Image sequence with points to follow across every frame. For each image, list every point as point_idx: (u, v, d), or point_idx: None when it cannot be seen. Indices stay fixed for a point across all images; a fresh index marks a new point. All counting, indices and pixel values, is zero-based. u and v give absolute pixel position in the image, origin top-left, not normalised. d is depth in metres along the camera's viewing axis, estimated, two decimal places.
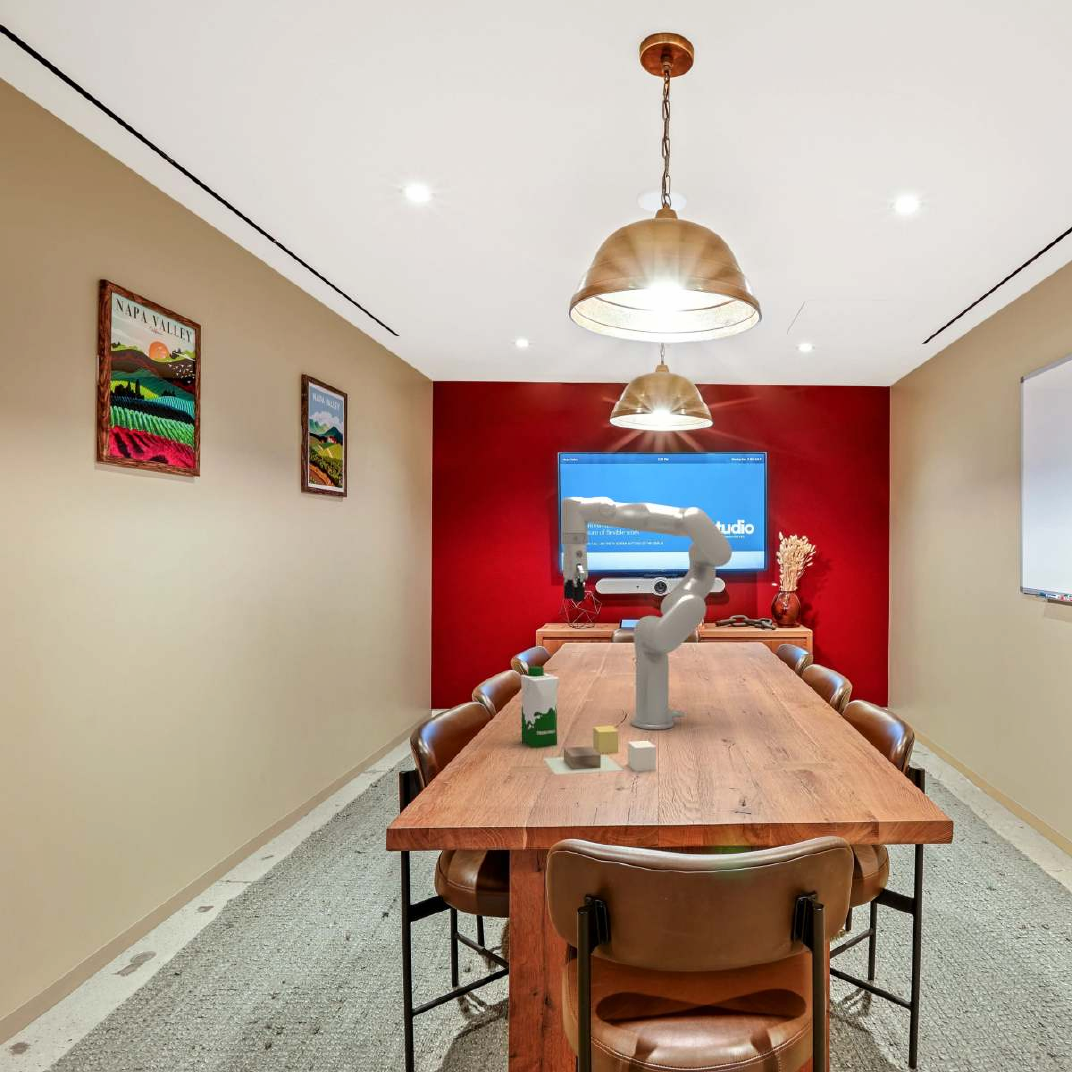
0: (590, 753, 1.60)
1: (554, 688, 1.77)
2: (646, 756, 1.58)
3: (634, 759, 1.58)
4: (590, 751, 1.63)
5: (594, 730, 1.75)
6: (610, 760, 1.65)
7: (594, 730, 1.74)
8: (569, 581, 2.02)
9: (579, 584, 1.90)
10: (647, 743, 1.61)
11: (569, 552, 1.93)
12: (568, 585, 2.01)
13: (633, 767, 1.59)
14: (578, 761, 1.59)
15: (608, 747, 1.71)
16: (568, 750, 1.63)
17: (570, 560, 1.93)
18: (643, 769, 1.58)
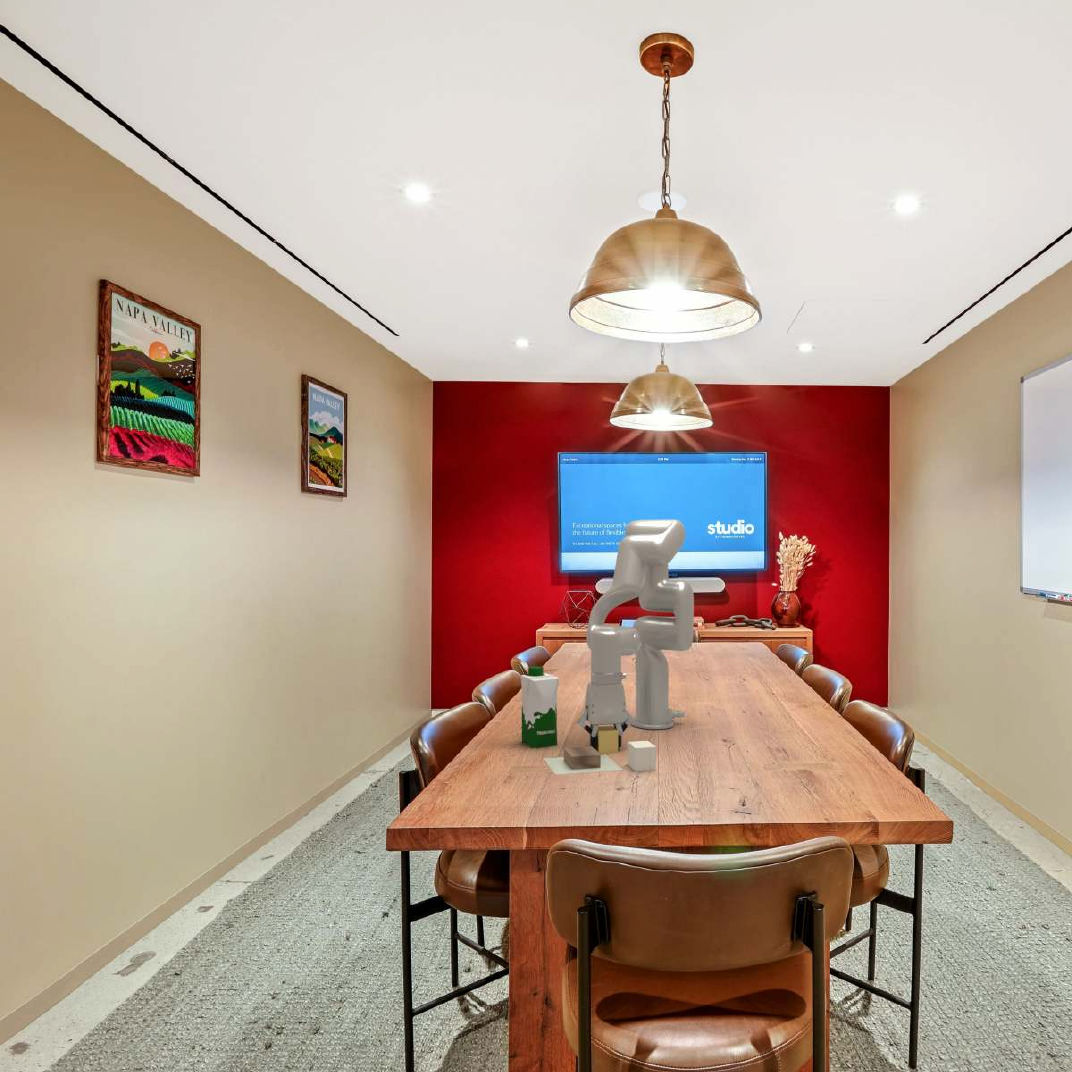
0: (590, 753, 1.60)
1: (554, 688, 1.77)
2: (646, 756, 1.58)
3: (634, 759, 1.58)
4: (590, 751, 1.63)
5: None
6: (610, 760, 1.65)
7: None
8: None
9: None
10: (647, 743, 1.61)
11: (620, 693, 1.72)
12: None
13: (633, 767, 1.59)
14: (578, 761, 1.59)
15: (608, 747, 1.71)
16: (568, 750, 1.63)
17: (622, 701, 1.73)
18: (643, 769, 1.58)
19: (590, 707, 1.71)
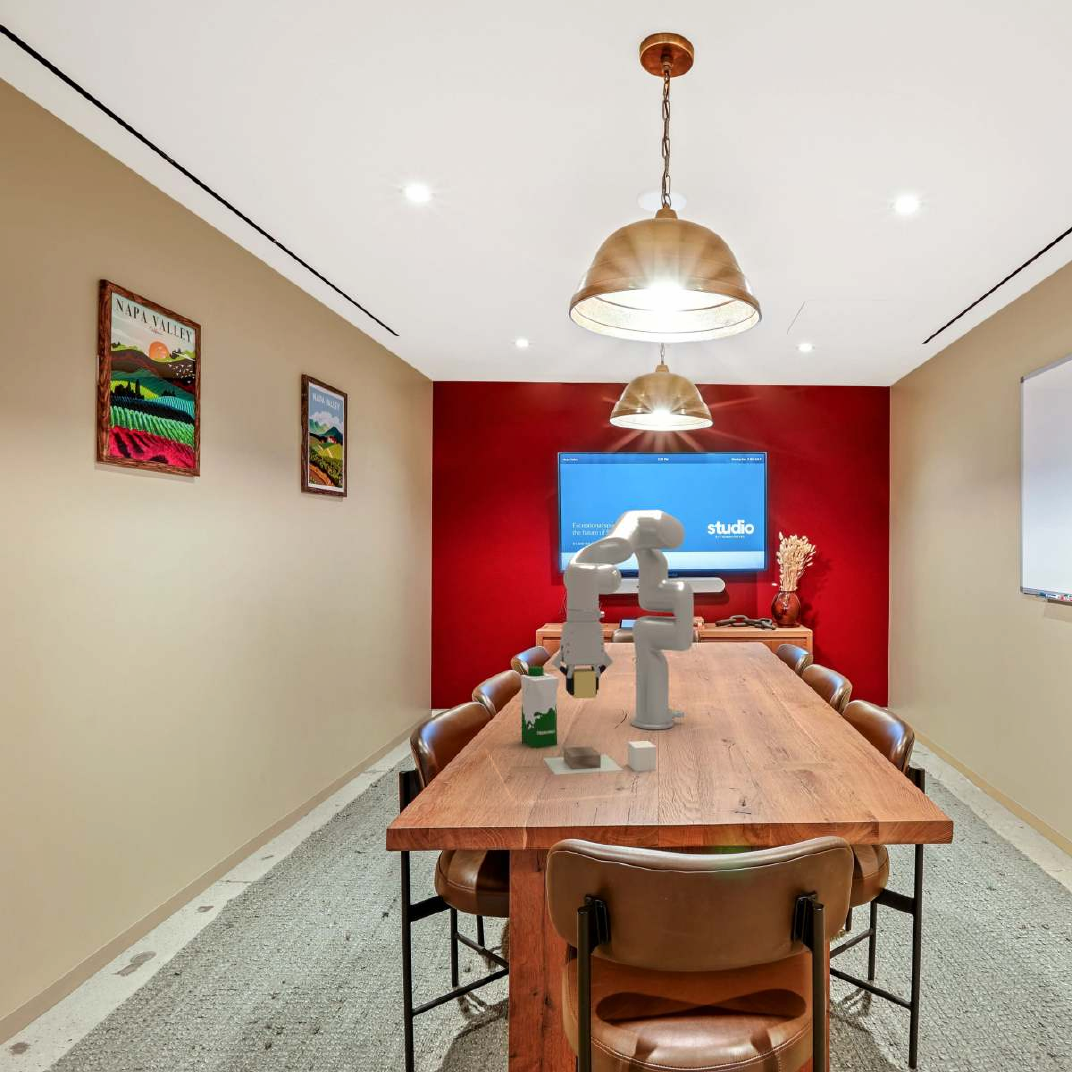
0: (590, 753, 1.60)
1: (554, 688, 1.77)
2: (646, 756, 1.58)
3: (634, 759, 1.58)
4: (590, 751, 1.63)
5: None
6: (610, 760, 1.65)
7: None
8: None
9: None
10: (647, 743, 1.61)
11: (597, 632, 1.62)
12: None
13: (633, 767, 1.59)
14: (578, 761, 1.59)
15: (585, 689, 1.60)
16: (568, 750, 1.63)
17: (599, 641, 1.62)
18: (643, 769, 1.58)
19: (565, 646, 1.60)
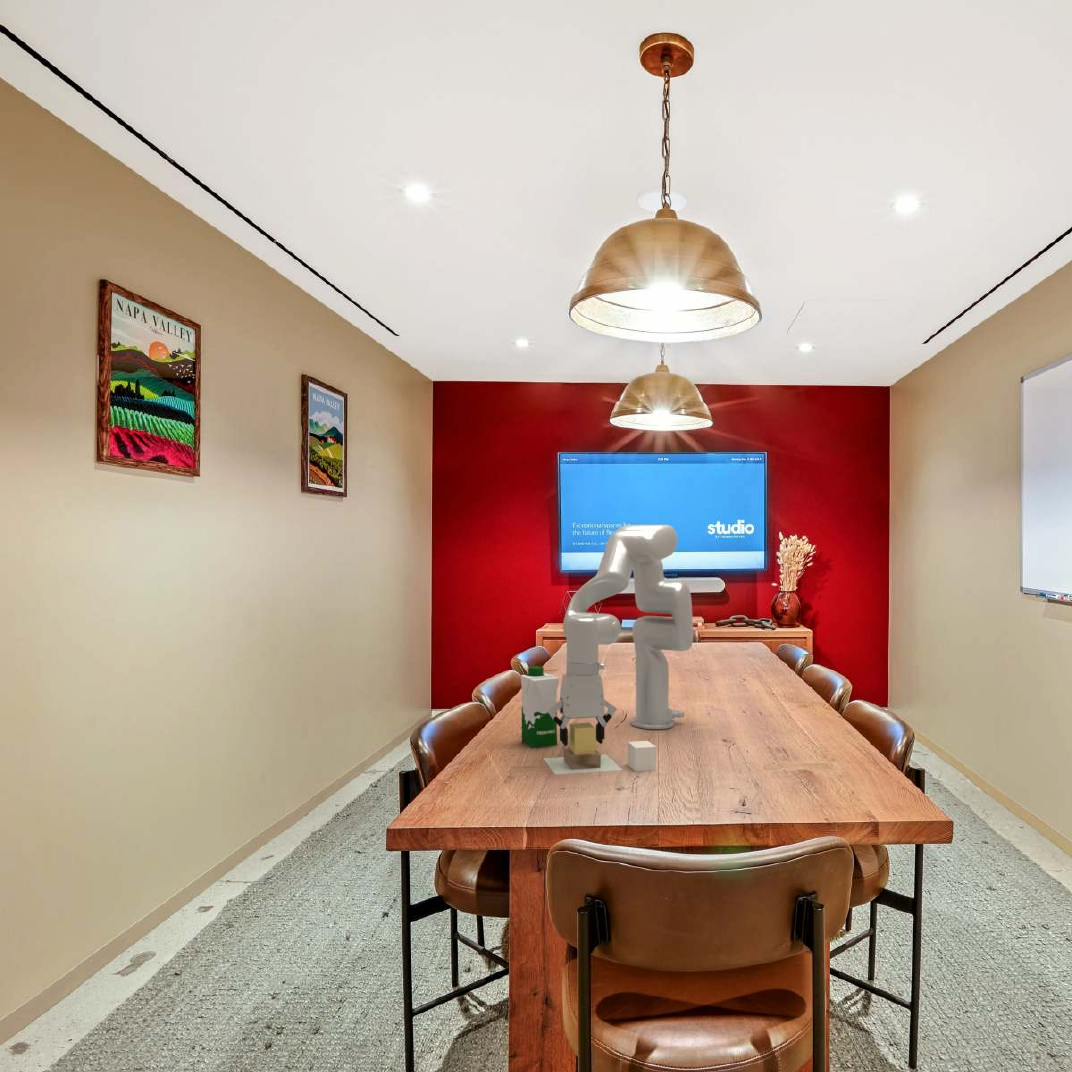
0: None
1: (554, 688, 1.77)
2: (646, 756, 1.58)
3: (634, 759, 1.58)
4: None
5: (570, 727, 1.64)
6: (610, 760, 1.65)
7: (571, 726, 1.63)
8: None
9: None
10: (647, 743, 1.61)
11: (597, 684, 1.61)
12: None
13: (633, 767, 1.59)
14: (578, 761, 1.59)
15: (585, 745, 1.60)
16: (568, 750, 1.63)
17: (599, 693, 1.61)
18: (643, 769, 1.58)
19: (565, 699, 1.60)
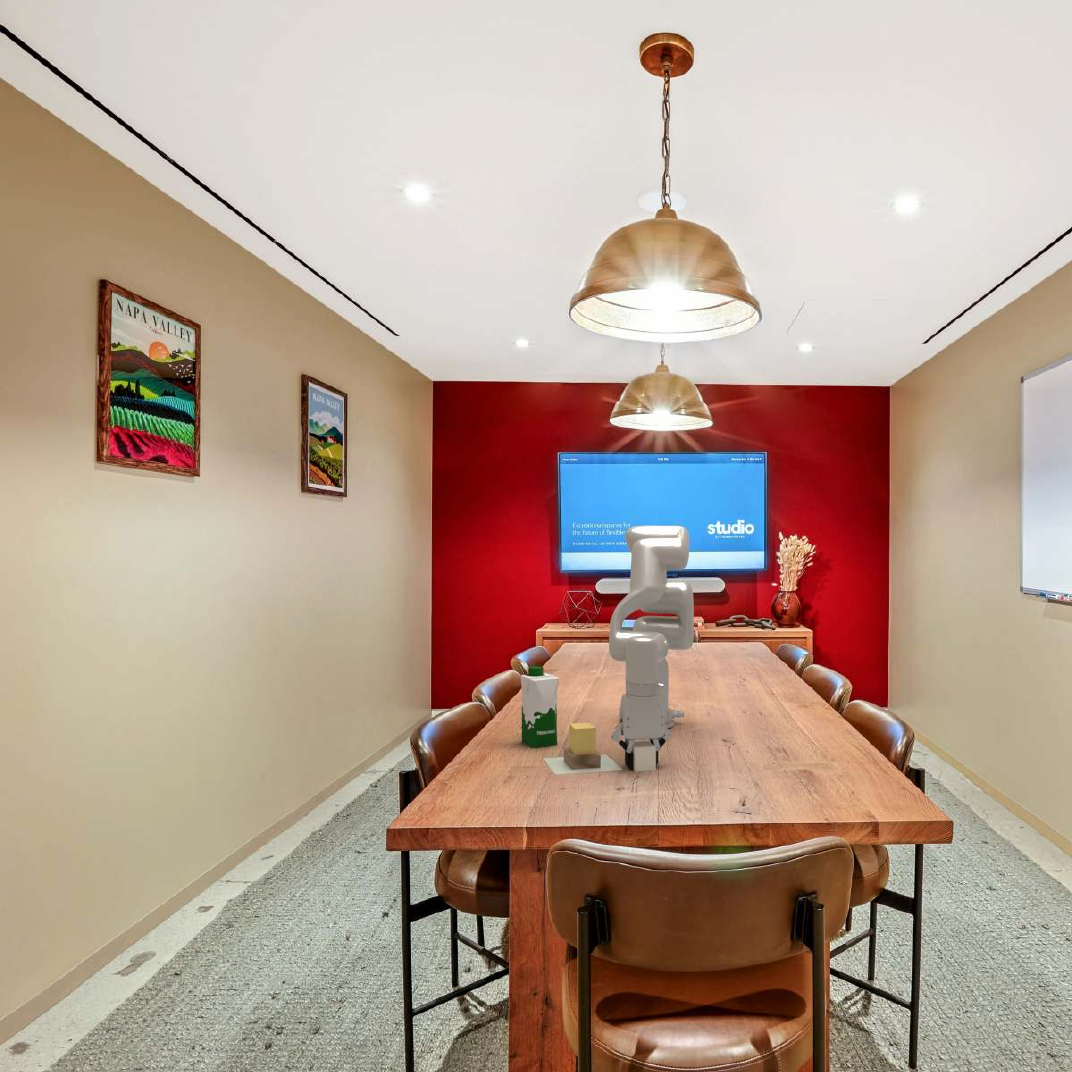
0: None
1: (554, 688, 1.77)
2: (646, 756, 1.58)
3: (634, 759, 1.58)
4: None
5: (570, 727, 1.64)
6: (610, 760, 1.65)
7: (571, 726, 1.63)
8: None
9: None
10: (647, 743, 1.61)
11: (657, 705, 1.59)
12: None
13: None
14: (578, 761, 1.59)
15: (585, 745, 1.60)
16: (568, 750, 1.63)
17: (659, 715, 1.59)
18: (643, 769, 1.58)
19: (625, 721, 1.58)
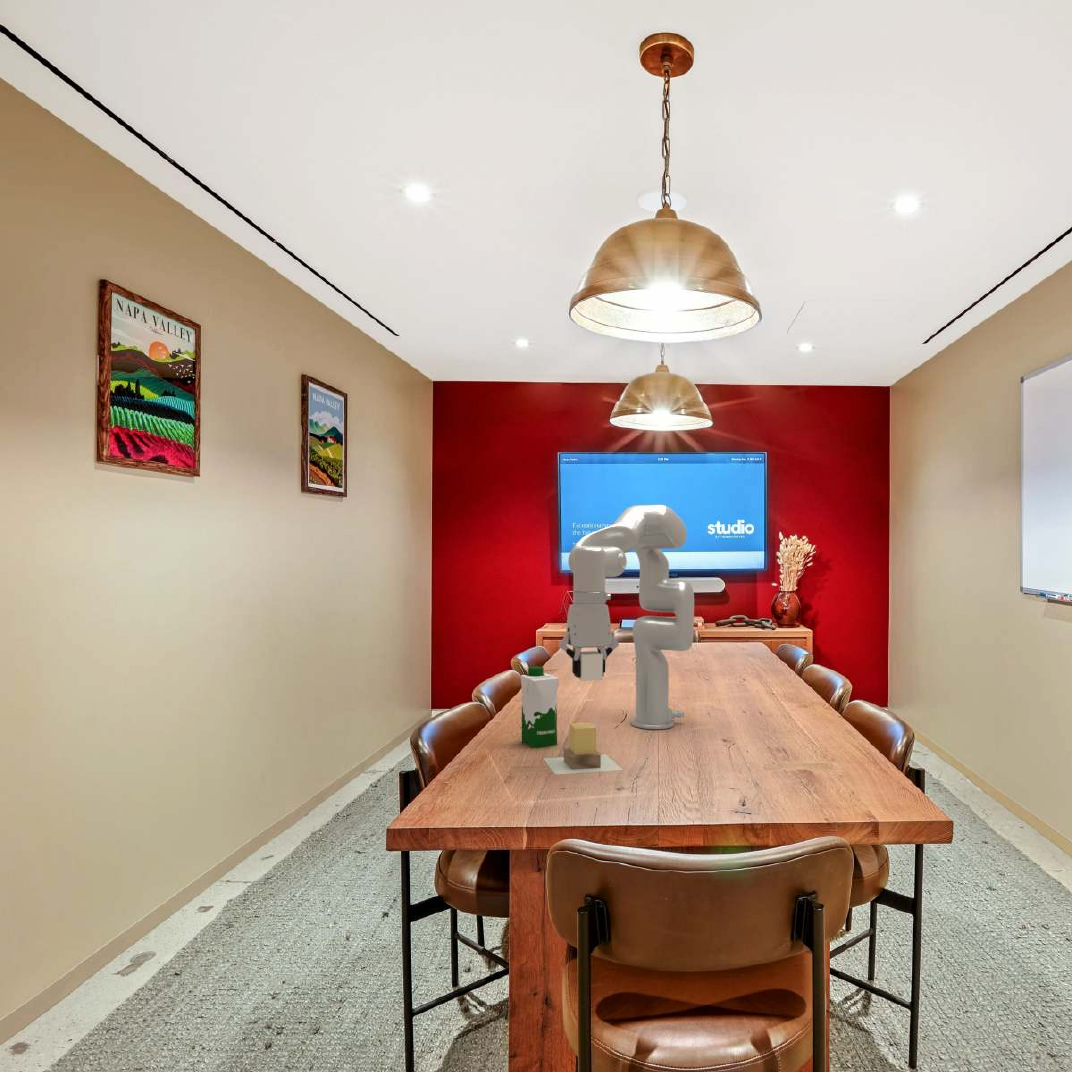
0: None
1: (554, 688, 1.77)
2: (593, 663, 1.60)
3: (581, 666, 1.60)
4: None
5: (570, 727, 1.64)
6: (610, 760, 1.65)
7: (571, 726, 1.63)
8: None
9: None
10: (595, 652, 1.63)
11: (604, 614, 1.61)
12: None
13: None
14: (578, 761, 1.59)
15: (585, 745, 1.60)
16: (568, 750, 1.63)
17: (606, 623, 1.61)
18: (590, 676, 1.60)
19: (572, 628, 1.60)
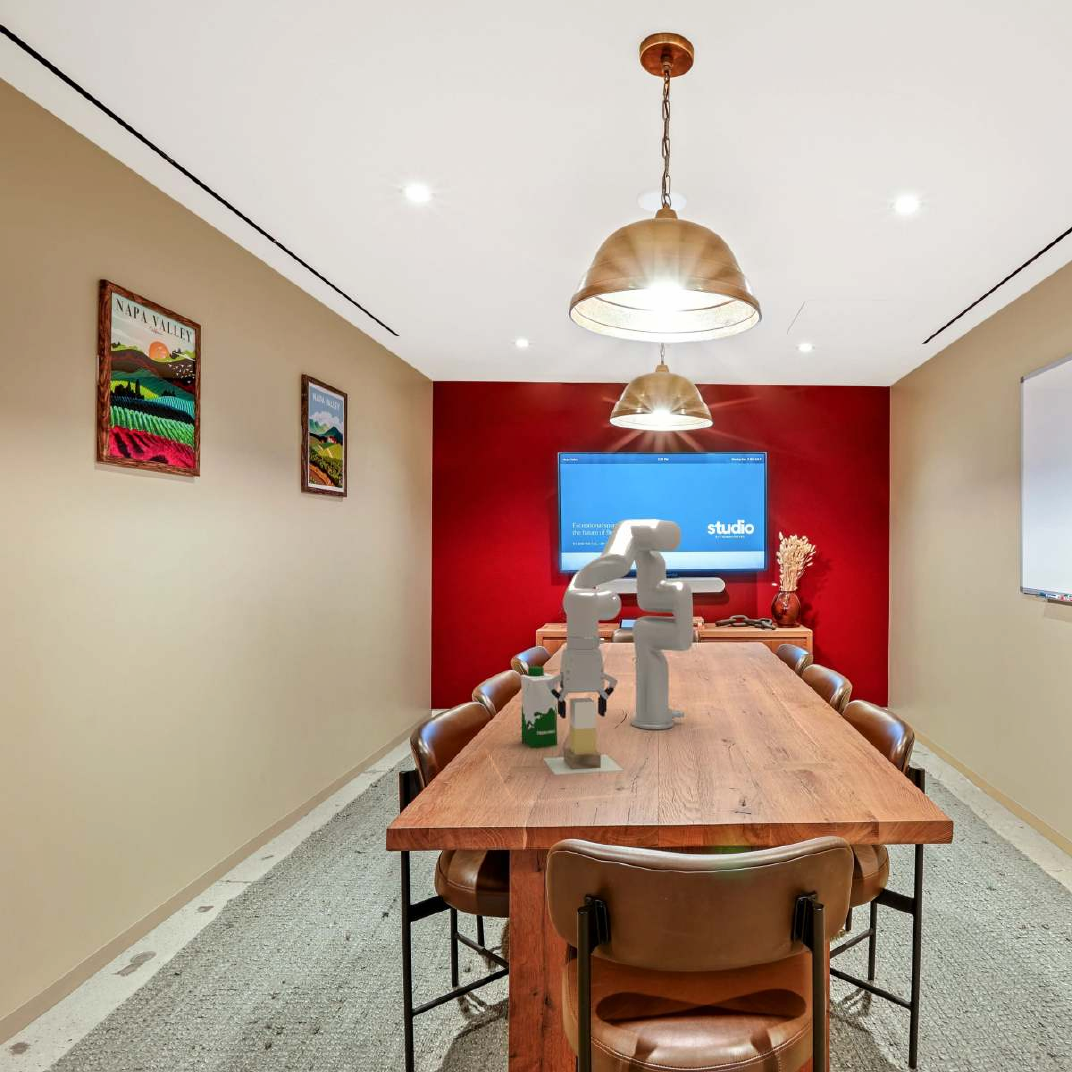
0: None
1: None
2: (586, 711, 1.60)
3: (574, 714, 1.60)
4: None
5: (570, 727, 1.64)
6: (610, 760, 1.65)
7: (571, 726, 1.63)
8: None
9: None
10: (588, 699, 1.63)
11: (597, 659, 1.61)
12: None
13: (573, 722, 1.61)
14: (578, 761, 1.59)
15: (585, 745, 1.60)
16: (568, 750, 1.63)
17: (599, 668, 1.61)
18: (583, 724, 1.60)
19: (565, 674, 1.60)
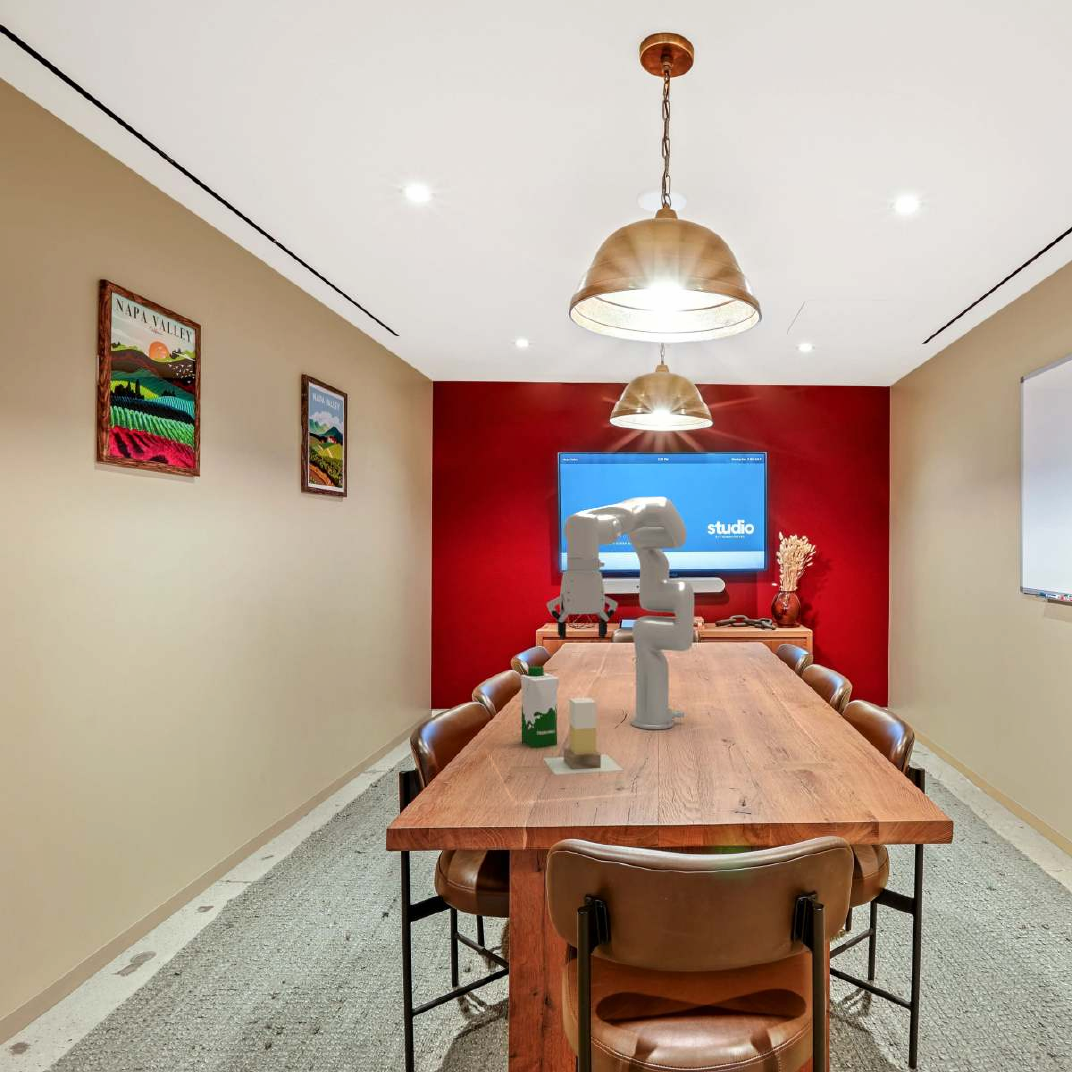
0: None
1: (554, 688, 1.77)
2: (586, 711, 1.60)
3: (574, 714, 1.60)
4: None
5: (570, 727, 1.64)
6: (610, 760, 1.65)
7: (571, 726, 1.63)
8: None
9: None
10: (588, 699, 1.63)
11: (598, 580, 1.62)
12: None
13: (573, 722, 1.61)
14: (578, 761, 1.59)
15: (585, 745, 1.60)
16: (568, 750, 1.63)
17: (600, 590, 1.62)
18: (583, 724, 1.60)
19: (565, 594, 1.60)
